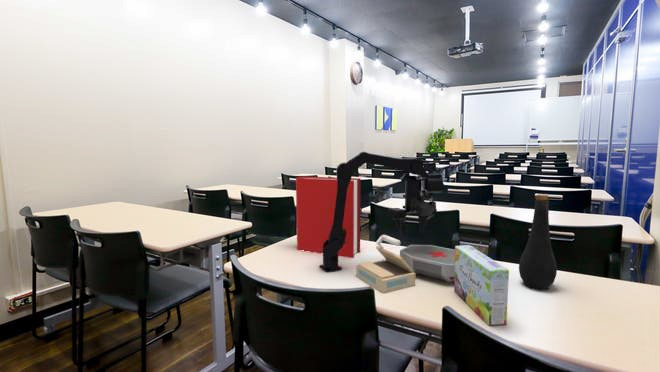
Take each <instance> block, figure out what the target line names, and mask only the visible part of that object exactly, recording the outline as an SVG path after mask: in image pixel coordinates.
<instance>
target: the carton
mask: <svg viewBox="0 0 660 372" xmlns="http://www.w3.org/2000/svg"><path fill="white" fill-rule="evenodd" d="M355 277H357V278H359V279H360V280H361V281H363V282H364V283H366V284H368V285H370V286H372V288H374V289H375V290H377V291H378V292H381V293H382V294H386V293H389V292H392V291H397V290H402V289H405V288H410V287H414V286H416V274H415V273H414V272H410V271H408V270H406V269H404V268H402V267H400V266H398V265H395V264H393V263H391V262H389V261H387V260H386V259H385V258H384V259H380V260H375V261H367V262H366V261H365V262H361V263H358V264H356V265H355Z"/></svg>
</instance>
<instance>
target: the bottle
mask: <svg viewBox="0 0 660 372" xmlns="http://www.w3.org/2000/svg"><path fill="white" fill-rule="evenodd" d="M548 198H549V195H548V194H541V193H540V194H536V199H535V200H534V201H535V203H534V205H535V206H534V212H533V218H532V224H531V228H530V232H529V236H528V239H527V243H526V245H525V248H524V250H523V252H522V253H521V257H520V260H519V264H518V273H519V276H520V279H521V281H523V285H524V286H525V287H526V288H529V289H532V290H535V291H548V290H550V287H551V286H552V285H553V284H554V282H555V280H556V276H557V275H558V274H557V271H558V270H557V268H558V267H557V262H556V258H555V254H554V252H553V247H552V242H551V235H550V217H549V213H550V210H549V207H550V205H549V204H550V200H549V199H548Z"/></svg>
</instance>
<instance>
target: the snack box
mask: <svg viewBox="0 0 660 372" xmlns="http://www.w3.org/2000/svg"><path fill="white" fill-rule="evenodd" d="M454 250H455V281H453V282H454V285H453V287H454V289H453V290H454V292H455V293H456V294H457V295H458V296H459V297H460V299H462V301H463V302H465V304H466V305H468V307H469V308H470V309H471V310H472V311H473V312H474V313H475V314H476V315H477V316H478V317H479V318H480V319H481V320H482V321H483V322H484V323H485V324H486V325H487V326H489V327H490V326H506V325H507V323H508V321H507V319H508V318H507V317H508V316H507V315H508V301H509V300H508V299H509V298H508V297H509V296H508V295H509V281H510V279H509V275H510V270H509V269H508V268H507V267H505V266H503V265H502V264H500V263H499V262H497V261H496V260H494V259H492V258H491V257H489V256H488V255H486V254H484V253H483V252H481V251H480V250H478V249H477V248H475V247H474V246H472V245H467V244H466V245H455V247H454Z"/></svg>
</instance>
